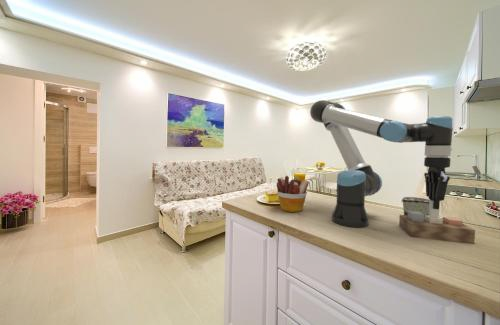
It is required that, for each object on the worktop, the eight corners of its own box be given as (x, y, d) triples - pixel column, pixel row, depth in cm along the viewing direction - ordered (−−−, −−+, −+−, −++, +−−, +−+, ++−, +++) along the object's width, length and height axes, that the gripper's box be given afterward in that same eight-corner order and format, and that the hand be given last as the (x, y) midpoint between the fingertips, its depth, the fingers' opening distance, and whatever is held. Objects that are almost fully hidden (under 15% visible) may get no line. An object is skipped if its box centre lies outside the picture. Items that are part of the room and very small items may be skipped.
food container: (428, 218, 101) (429, 198, 101) (433, 222, 96) (434, 201, 95) (397, 215, 106) (398, 195, 106) (400, 218, 101) (401, 198, 100)
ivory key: (429, 229, 81) (430, 218, 81) (424, 226, 85) (425, 215, 85) (442, 230, 80) (442, 219, 80) (436, 227, 84) (437, 216, 83)
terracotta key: (448, 231, 79) (449, 219, 79) (442, 227, 83) (443, 216, 83) (461, 232, 78) (462, 221, 78) (455, 228, 82) (455, 217, 82)
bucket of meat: (283, 203, 128) (284, 171, 127) (310, 207, 120) (311, 173, 118) (270, 212, 111) (270, 175, 110) (300, 217, 102) (301, 177, 101)
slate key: (411, 224, 83) (412, 213, 83) (407, 221, 87) (407, 210, 86) (423, 225, 82) (424, 214, 81) (418, 222, 85) (419, 211, 85)
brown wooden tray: (410, 236, 80) (411, 223, 79) (399, 225, 91) (399, 214, 91) (474, 243, 74) (475, 229, 74) (453, 231, 85) (453, 219, 85)
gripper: (460, 157, 73) (456, 222, 75) (439, 156, 86) (436, 212, 87) (434, 157, 76) (430, 220, 77) (417, 156, 88) (414, 210, 89)
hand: (433, 216), depth 82 cm, fingers closed
